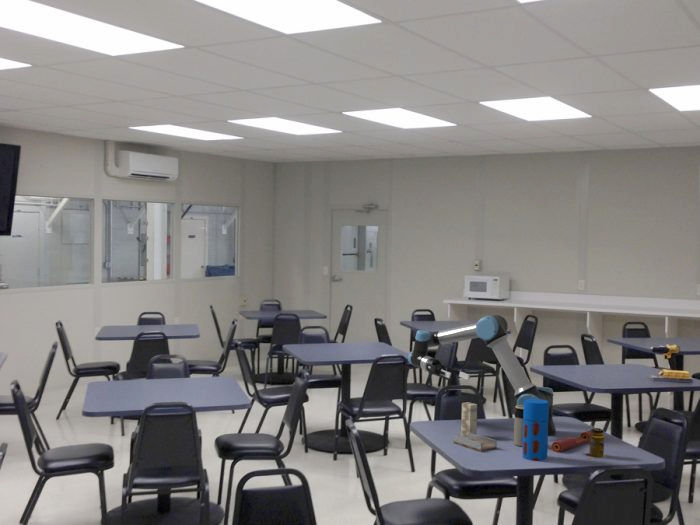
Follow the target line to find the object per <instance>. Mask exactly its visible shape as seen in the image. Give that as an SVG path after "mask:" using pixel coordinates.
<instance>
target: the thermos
mask: <svg viewBox="0 0 700 525" xmlns="http://www.w3.org/2000/svg"><path fill="white" fill-rule="evenodd" d="M548 419H549V403H548V401H546V400H541V399H525V400H524V411H523V447H522V458H523V459H526V460H529V461H535V462H537V461H538V462H543V461H546V460H548V451H549V450H548V449H549V436H548Z"/></svg>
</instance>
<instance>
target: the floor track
mask: <svg viewBox="0 0 700 525" xmlns="http://www.w3.org/2000/svg"><path fill="white" fill-rule="evenodd" d="M497 443H498V440H497V439H493V438H490V437H487V436H483V435H480V434H477V433H476V434H474V433H470V432H468V438H467V437H464V436H461V435H457V434H453V444H455V445H458V446H461V447H464V448H467V449H470V450H473V451H476V452H479V453H481V452H486V451H493V450H497V447H498V446H497Z"/></svg>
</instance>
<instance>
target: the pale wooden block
mask: <svg viewBox="0 0 700 525" xmlns="http://www.w3.org/2000/svg"><path fill="white" fill-rule="evenodd" d="M477 423H478V404H477V403H474V402H473V403H472V402H468V401H467V402H462V403H461V423H460V427H461V428H460V430H461V431H460V436H462V437H465V438H468V432H470V433H474V434H477V432H478V431H477V426H478V424H477Z"/></svg>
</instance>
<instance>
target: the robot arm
mask: <svg viewBox="0 0 700 525" xmlns="http://www.w3.org/2000/svg"><path fill="white" fill-rule="evenodd" d="M507 321H508V320H506V319H505V318H504V316H502V315H499V314H494V315H486V316H483V317H481V318H480V319H479V320H478V321H477V322H476V323H470V324H466V325H461V326H457V327H452V328H447V329H444V330H443V329H442V330H439V331H433V332H430V331H427V330H424V329H423V330H422V329H418V330H417V331H416V332H415V337H414V339H415V340H414V346H413V350H412V351H410V352H409V353H408V356H407V362H408V363H409V364H410V365H412V366H414V367H416V368H418V369H421V370H424V372H428V373H430V374H433V375H436V376H438V377H439V376H442V377H445V378H447V379H451V375H454V376H458V377H459V378H462V379H464V380H466V381H469V380H470V378H471V375H470V374H468V373H466V372H464V371H463V369H456V368H452V367H451V366H447V365H444V364H442V362H441V361H440V360H439V359H436V358H434V357H431V356H428V351H429V348H434V347H438V346H443V345H447V344H453V343H458V342H461V341H462V342H463V341H468V340H472V339H477V338H479V339H481V340H482V341H483V342H484V343H485V345H486V347H487V348H491V350H492V352H493V353H494V355H495V357H496V359H497V360H498V363H499V364H500V367H502V370H503V372H504V373H505V375H506V377H507V379H508V380H509V383H510V385H511V387H512V389H513V390H514V396H513V397H514V399H515V400H516V406H517V405H524V400H525V399H541V400H546V401H548V403H549V419H548V437H550V436H554V435H556V434H557V433H556V431H557V430H556V426H555V422H554V419H553V415H554V414H553V412H554V411H553V409H554V390H553V388H550V387H546V386H545V387H544V386H537V385H535V383H532V382H531V381H530V379H529V378H528V376H527V373H526V372H525V371H524V369H523V367H522V365H521V363H520V361H519V360H518V358H517V356H516V355H515V352H514V351H513V349H512V346H511V345H510V343H509V342H508V341H509V340H508V336H509V335H508V333H507V331H508V326H509V325H508V322H507Z"/></svg>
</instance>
